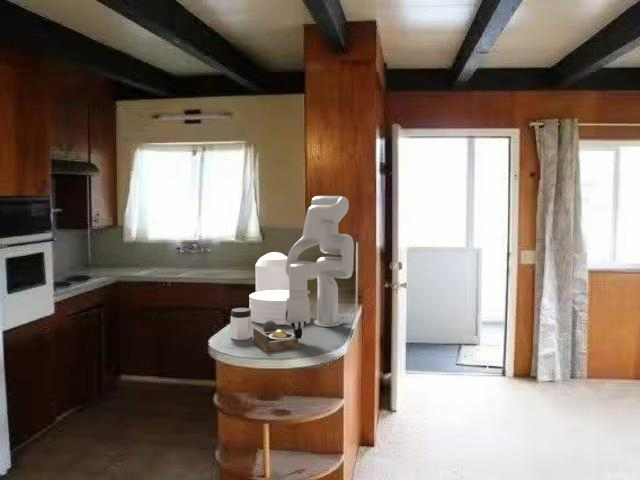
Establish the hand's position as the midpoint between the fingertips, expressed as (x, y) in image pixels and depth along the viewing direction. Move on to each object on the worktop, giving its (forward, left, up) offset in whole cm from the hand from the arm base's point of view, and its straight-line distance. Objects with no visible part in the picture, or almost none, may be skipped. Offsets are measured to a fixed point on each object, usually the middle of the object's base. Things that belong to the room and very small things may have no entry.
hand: (298, 337), depth 229 cm
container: (-22, -83, -2) cm, 86 cm away
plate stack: (-9, -44, -2) cm, 45 cm away
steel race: (+7, 0, -2) cm, 7 cm away
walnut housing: (+10, 0, -2) cm, 10 cm away
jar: (+19, -17, -2) cm, 25 cm away
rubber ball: (+6, -17, +1) cm, 18 cm away
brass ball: (+8, 0, +1) cm, 8 cm away
